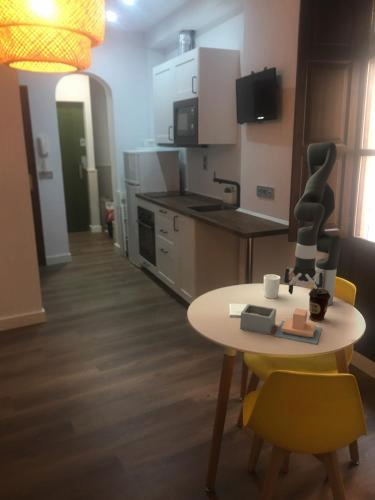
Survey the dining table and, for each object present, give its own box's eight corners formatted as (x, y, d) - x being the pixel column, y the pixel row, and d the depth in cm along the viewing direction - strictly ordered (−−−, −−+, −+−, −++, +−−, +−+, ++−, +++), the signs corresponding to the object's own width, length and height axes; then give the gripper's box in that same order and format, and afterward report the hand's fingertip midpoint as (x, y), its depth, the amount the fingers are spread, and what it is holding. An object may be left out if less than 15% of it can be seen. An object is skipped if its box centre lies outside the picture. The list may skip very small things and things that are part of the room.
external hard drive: (247, 307, 189) (248, 318, 177) (229, 306, 190) (229, 317, 178) (247, 304, 188) (248, 315, 176) (229, 303, 189) (229, 314, 177)
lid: (285, 323, 170) (287, 304, 168) (315, 329, 166) (317, 309, 164) (280, 333, 161) (282, 313, 159) (312, 339, 157) (314, 319, 155)
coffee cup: (316, 325, 170) (319, 295, 167) (302, 317, 178) (304, 289, 174) (331, 321, 174) (334, 292, 171) (317, 313, 181) (320, 286, 178)
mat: (282, 321, 173) (282, 320, 173) (321, 328, 167) (321, 327, 167) (274, 336, 160) (274, 335, 160) (316, 344, 154) (316, 343, 154)
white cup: (260, 293, 205) (261, 274, 202) (275, 292, 205) (277, 273, 203) (265, 299, 197) (266, 279, 194) (281, 298, 198) (282, 279, 195)
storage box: (247, 319, 175) (247, 304, 173) (275, 324, 170) (276, 308, 168) (240, 328, 166) (240, 312, 164) (269, 334, 161) (270, 318, 160)
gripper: (326, 254, 156) (322, 294, 160) (288, 250, 161) (285, 289, 166) (324, 260, 149) (320, 301, 153) (284, 255, 155) (282, 295, 159)
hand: (302, 295), depth 160 cm, fingers open, 8 cm apart
